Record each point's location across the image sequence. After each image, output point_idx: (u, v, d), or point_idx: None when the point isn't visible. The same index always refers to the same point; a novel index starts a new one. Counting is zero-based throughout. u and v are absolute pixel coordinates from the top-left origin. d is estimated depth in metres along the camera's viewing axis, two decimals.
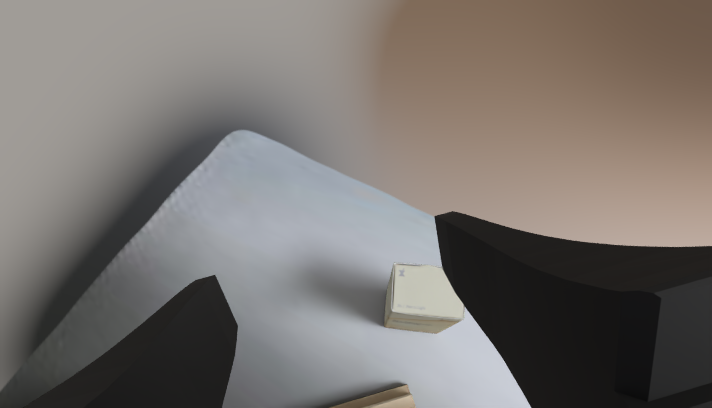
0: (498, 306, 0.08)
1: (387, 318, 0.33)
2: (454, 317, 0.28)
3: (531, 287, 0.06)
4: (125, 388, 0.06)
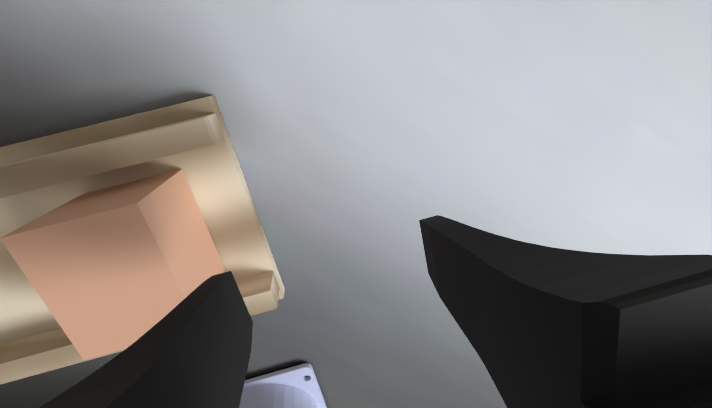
0: (478, 312, 0.08)
1: None
2: None
3: (505, 294, 0.06)
4: (153, 380, 0.06)
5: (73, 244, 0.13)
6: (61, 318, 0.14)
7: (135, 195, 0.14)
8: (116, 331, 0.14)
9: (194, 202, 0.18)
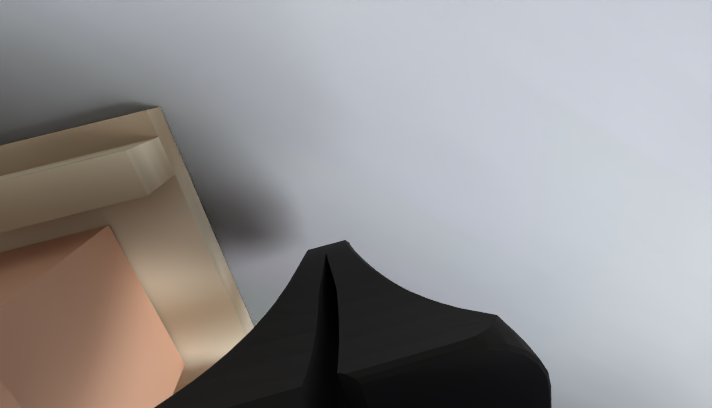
0: None
1: None
2: None
3: None
4: (320, 334, 0.06)
5: None
6: None
7: None
8: None
9: (131, 275, 0.11)
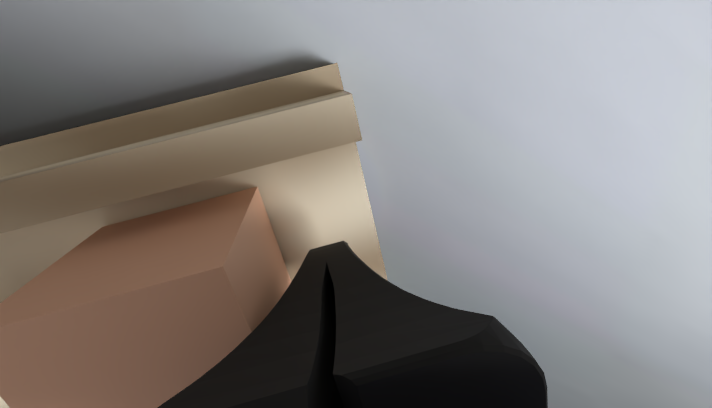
0: None
1: None
2: None
3: None
4: (323, 333, 0.06)
5: (98, 343, 0.07)
6: None
7: (205, 241, 0.08)
8: None
9: (273, 237, 0.12)
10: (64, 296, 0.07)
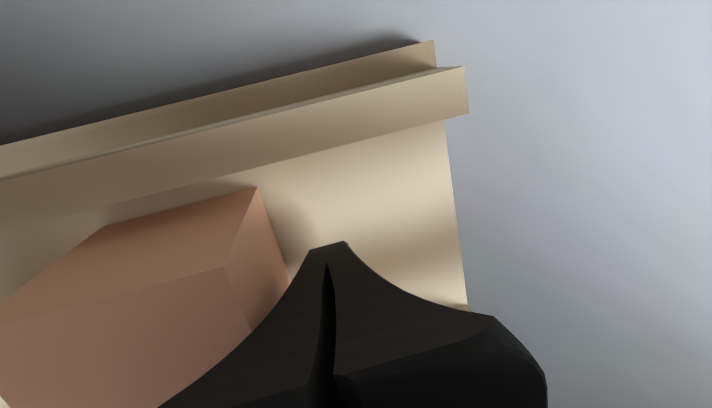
0: None
1: None
2: None
3: None
4: (323, 333, 0.06)
5: (99, 344, 0.07)
6: None
7: (205, 241, 0.08)
8: None
9: (274, 237, 0.12)
10: (64, 296, 0.07)
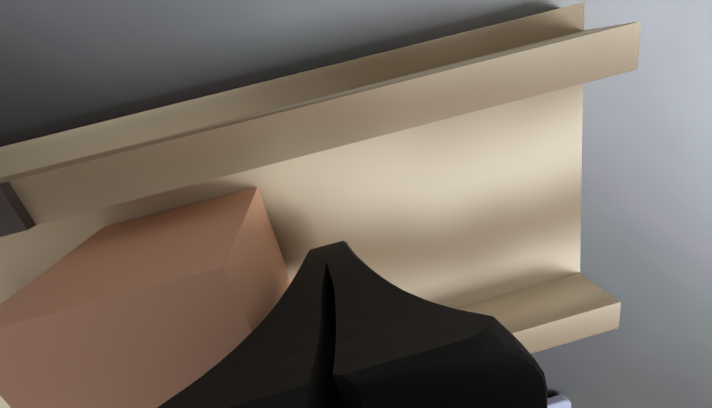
0: None
1: None
2: None
3: None
4: (323, 333, 0.06)
5: (100, 344, 0.07)
6: None
7: (206, 242, 0.08)
8: None
9: (274, 237, 0.12)
10: (65, 296, 0.07)
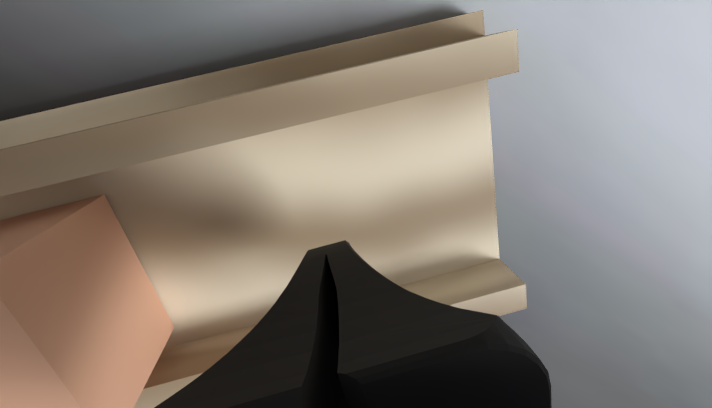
0: None
1: None
2: None
3: None
4: (320, 334, 0.06)
5: None
6: None
7: (0, 247, 0.09)
8: None
9: (124, 241, 0.13)
10: None
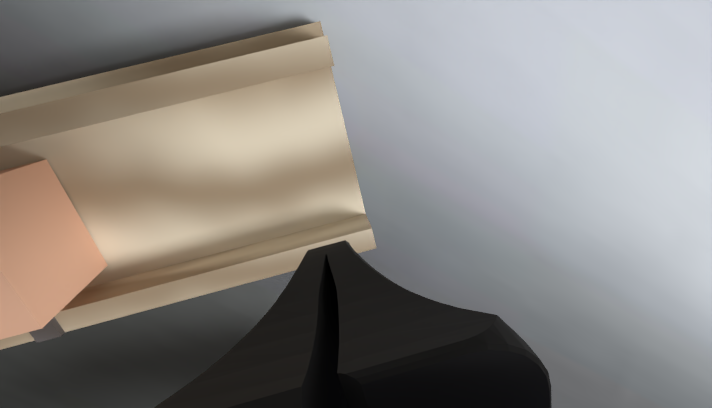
0: None
1: None
2: None
3: None
4: (320, 333, 0.06)
5: None
6: None
7: None
8: None
9: (63, 194, 0.17)
10: None
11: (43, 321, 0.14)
